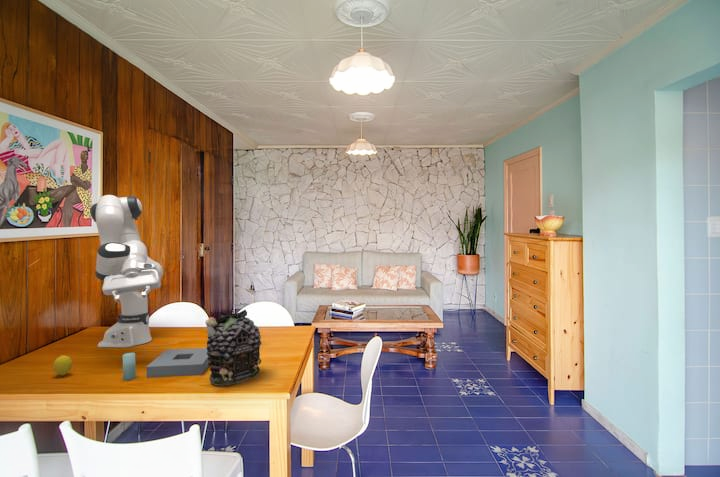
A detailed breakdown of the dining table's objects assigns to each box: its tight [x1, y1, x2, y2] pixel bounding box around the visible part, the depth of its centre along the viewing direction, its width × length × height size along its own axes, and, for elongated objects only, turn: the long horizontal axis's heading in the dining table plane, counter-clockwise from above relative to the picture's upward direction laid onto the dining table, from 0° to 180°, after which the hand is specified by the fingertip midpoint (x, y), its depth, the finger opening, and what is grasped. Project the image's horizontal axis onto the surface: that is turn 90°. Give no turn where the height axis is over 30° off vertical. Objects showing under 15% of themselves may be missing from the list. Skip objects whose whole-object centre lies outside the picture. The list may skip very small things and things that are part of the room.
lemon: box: [53, 354, 73, 377], centre depth 144 cm, size 6×6×8 cm
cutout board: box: [146, 347, 210, 378], centre depth 154 cm, size 20×20×4 cm
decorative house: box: [205, 309, 263, 386], centre depth 142 cm, size 21×15×25 cm
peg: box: [122, 352, 137, 381], centre depth 142 cm, size 4×4×9 cm
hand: (130, 298), depth 149 cm, fingers open, 8 cm apart
